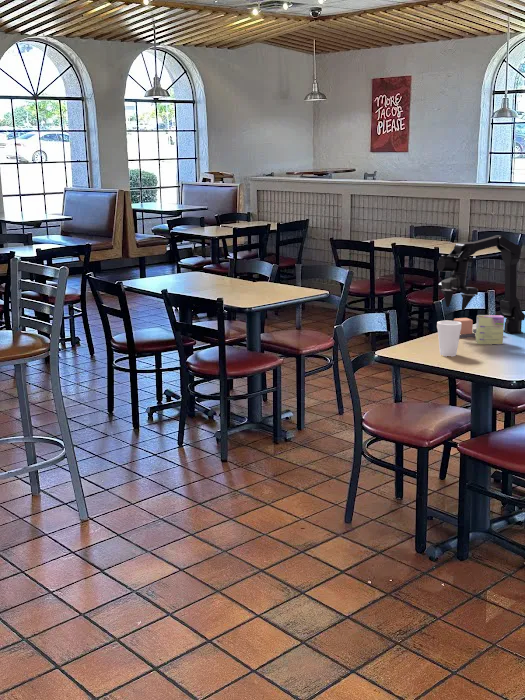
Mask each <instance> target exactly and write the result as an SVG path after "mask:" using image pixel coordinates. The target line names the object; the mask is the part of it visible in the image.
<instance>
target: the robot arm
mask: <svg viewBox="0 0 525 700" xmlns="http://www.w3.org/2000/svg"><path fill="white" fill-rule="evenodd" d="M453 247H454V248H452V250H451V251H450V252H449V254H448V255H445V254H441V255H440V258H439V259H438V260H437V263H436V267H437V271H439V272H448V273H450V272H451V273H450V275H449V277H448V278H445V279H442V280H440V282H439V283H438V286H437V289H438V290H439V292H441V293H442V295H443V298H444V301H445V306H446V307H447V308H449V307H450V305H451V302H452V300H453V299H452V298H453V295H454V292H455V291H457V292H461V293H460V295H461V298H462V301H461V311H464V310H466V308H467V307H468V304H469V303H470V302H471V300H472V299H473V298H474V297H476V296H477V295H478V293H479V289H478V288H477V287H472V286H468V284H466V281H467V279H468V278H469V275H467V273H468V265H469V263H470V264H471V263H472V264H473V263H474V261H473V260H472V259H471V256H473V255H474V254H476V252H479V251H482V250H486V249H490V248H494V247H496V249H498V251H499V252H500V254H501V255H500V256H501V259H502V261H503V263H504V297H503V299H502V300H501V299H500V300H499V309H500V313H501V314H502V316H503V317H504V319H505V321H504V329H503V333H504V332H505V333H506V334H509V335H516V334H524V331H522V323H523V321H525V313H524V312H523V311H522V310H521V308H522V307H521V302H520V300H519V299H518V296H517V292H518V291H517V289H518V288H517V285H518V283H517V281H518V279H517V278H518V275H517V274H518V273H517V271H518V269H517V267H518V265H517V264H518V262H519V261H520V259H521V254H522V248H521V246H519V244H515V243H514V242H512V241H511V240H509V239H507V238H506V237H504V236H503V235H493V236H490V237H487V238H483V239H480V240H478V239H477V240H475V241H464V242H457V243H456V244H455V245H454V246H453Z"/></svg>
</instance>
